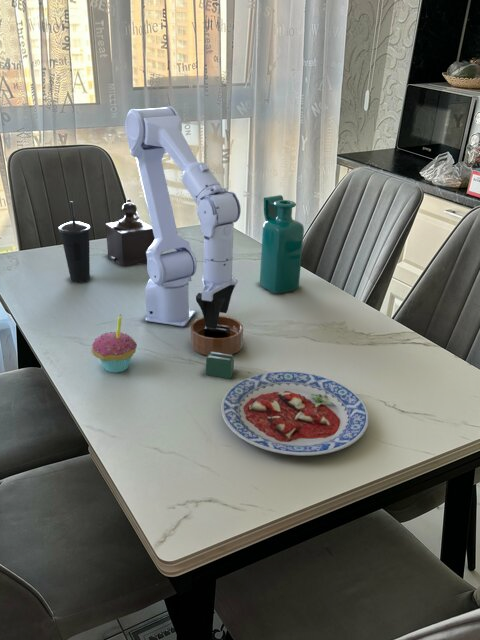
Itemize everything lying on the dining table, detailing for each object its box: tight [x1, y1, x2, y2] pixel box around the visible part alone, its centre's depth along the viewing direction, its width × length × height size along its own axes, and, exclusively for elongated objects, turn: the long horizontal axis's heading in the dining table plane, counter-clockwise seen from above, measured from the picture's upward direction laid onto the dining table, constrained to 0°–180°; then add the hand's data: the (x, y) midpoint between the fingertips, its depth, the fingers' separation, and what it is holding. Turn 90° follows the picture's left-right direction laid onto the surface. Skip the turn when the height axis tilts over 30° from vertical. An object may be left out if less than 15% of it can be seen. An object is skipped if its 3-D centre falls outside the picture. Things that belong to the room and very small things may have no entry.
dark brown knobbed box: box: [105, 198, 155, 267], centre depth 165 cm, size 16×11×18 cm
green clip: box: [205, 352, 235, 380], centre depth 118 cm, size 5×2×4 cm, turn 75°
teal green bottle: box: [259, 194, 305, 294], centre depth 152 cm, size 10×8×22 cm
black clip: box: [204, 324, 230, 338], centre depth 127 cm, size 5×2×4 cm, turn 75°
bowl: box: [190, 315, 244, 357], centre depth 128 cm, size 11×11×4 cm
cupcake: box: [91, 313, 137, 373], centre depth 117 cm, size 9×8×12 cm
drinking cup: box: [58, 200, 91, 284], centre depth 152 cm, size 8×8×20 cm
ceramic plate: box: [220, 371, 370, 457], centre depth 106 cm, size 26×26×3 cm
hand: (216, 319), depth 126 cm, fingers open, 7 cm apart
